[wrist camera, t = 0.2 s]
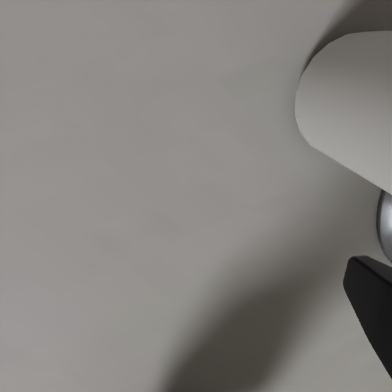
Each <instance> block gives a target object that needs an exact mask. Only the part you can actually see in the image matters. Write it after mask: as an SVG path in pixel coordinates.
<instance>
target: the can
mask: <svg viewBox="0 0 392 392" xmlns="http://www.w3.org/2000/svg"><path fill="white" fill-rule="evenodd" d="M295 117H296V120H297V124H298V127H299V130H300V133H301V134H302V135H303V137H304V138H305V139H306V140H307V142H308V143H309V144H310V145H311V146H312V147H314V148H315V149H317V150H319V151H320V152H322V153H324V154H325V155H327V156H329V157H330V158H332V159H334V160H335V161H337V162H339V163H340V164H342V165H344V166H345V167H347V168H348V169H350V170H352V171H353V172H355V173H357V174H358V175H360V176H362V177H363V178H365V179H367V180H368V181H370V182H372V183H373V184H375V185H377V186H378V187H380V188H381V189H383V190H385V191H386V192H388V193H390V194H391V195H392V31H367V32H359V33H351V34H346V35H344V36H342V37H340V38H338V39H336V40H334V41H332V42H330V43H328V44H327V45H326V46H325V47H324V48H323V49H322V50H321V51H320V52H319V53H318V54H316V55H315V56H314V57H313V58H312V60H311V62H310V63H309V65H308V66H307V68H306V70H305V71H304V73H303V74H302V76H301V79H300V82H299V86H298V89H297V92H296V95H295Z"/></svg>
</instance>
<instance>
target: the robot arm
mask: <svg viewBox="0 0 392 392" xmlns="http://www.w3.org/2000/svg"><path fill="white" fill-rule="evenodd" d="M343 286H344V290H345V292H346V294H347V296H348V298H349V300H350V302H351V305H352V307H353V309H354V311H355V313H356V315H357V317H358V319H359V321H360V324H361V326H362V328H363V330H364V332H365V334H366V336H367V338H368V340H369V342H370V343H371V345H372V347H373V349H374V350H375V352H376V354H377V355H378V357H379V359H380V360H381V362H382V364H383V365H384V367H385V369H386V370H387V372H388V374H389V375H390V377H391V379H392V267H390V266H388V265H386V264H383V263H381V262H379V261H377V260H375V259H373V258H370V257H368V256H353V257H351V258H350V259H349V260H348V264H347V268H346V272H345V276H344V280H343Z"/></svg>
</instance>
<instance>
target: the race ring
mask: <svg viewBox="0 0 392 392" xmlns="http://www.w3.org/2000/svg"><path fill="white" fill-rule="evenodd" d="M376 227H377V234H378V239H379V242H380V245H381V248H382V250H383V252H384V254H385V255H386V257H387V258H388V259H389V260H390V262H391V263H392V195H391V194H390V193H388V192H386V191H385V190H383V189H382V192H381V195H380V199H379V203H378V209H377V221H376Z"/></svg>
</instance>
